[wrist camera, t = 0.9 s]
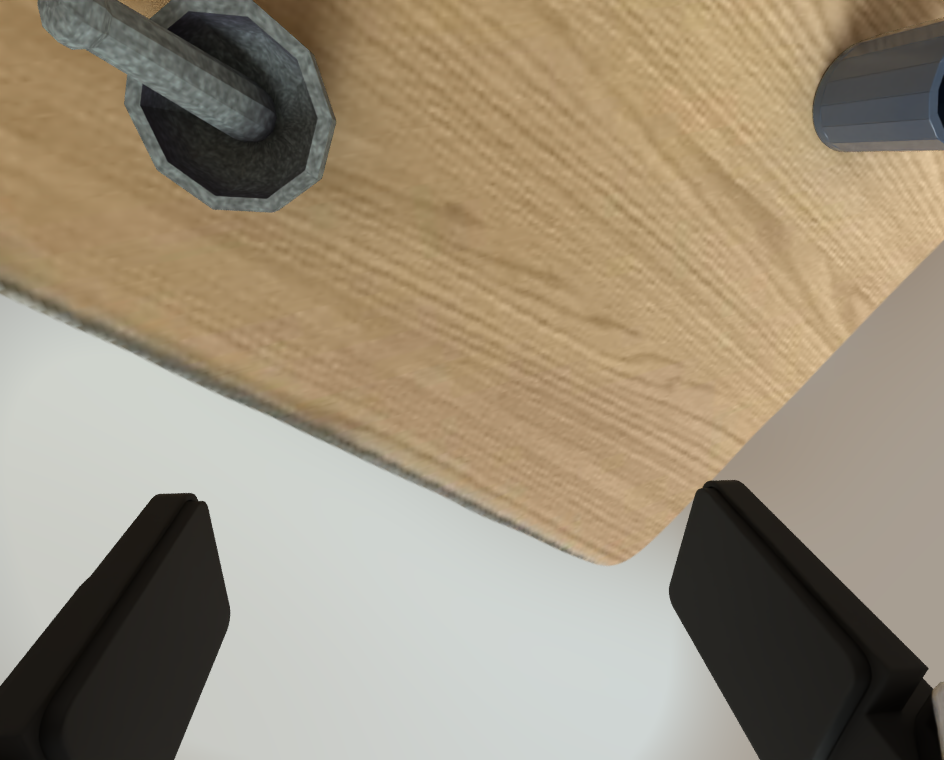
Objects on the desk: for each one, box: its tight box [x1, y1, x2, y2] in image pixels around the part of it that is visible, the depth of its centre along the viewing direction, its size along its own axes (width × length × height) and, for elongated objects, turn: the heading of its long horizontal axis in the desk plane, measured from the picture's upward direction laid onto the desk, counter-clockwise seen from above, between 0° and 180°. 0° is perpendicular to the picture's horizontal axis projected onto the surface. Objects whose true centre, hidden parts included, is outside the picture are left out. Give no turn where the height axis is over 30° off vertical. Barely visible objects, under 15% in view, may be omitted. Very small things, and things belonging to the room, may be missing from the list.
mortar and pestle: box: [38, 0, 336, 212], centre depth 25 cm, size 11×9×12 cm
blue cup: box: [813, 17, 944, 152], centre depth 29 cm, size 7×7×8 cm
